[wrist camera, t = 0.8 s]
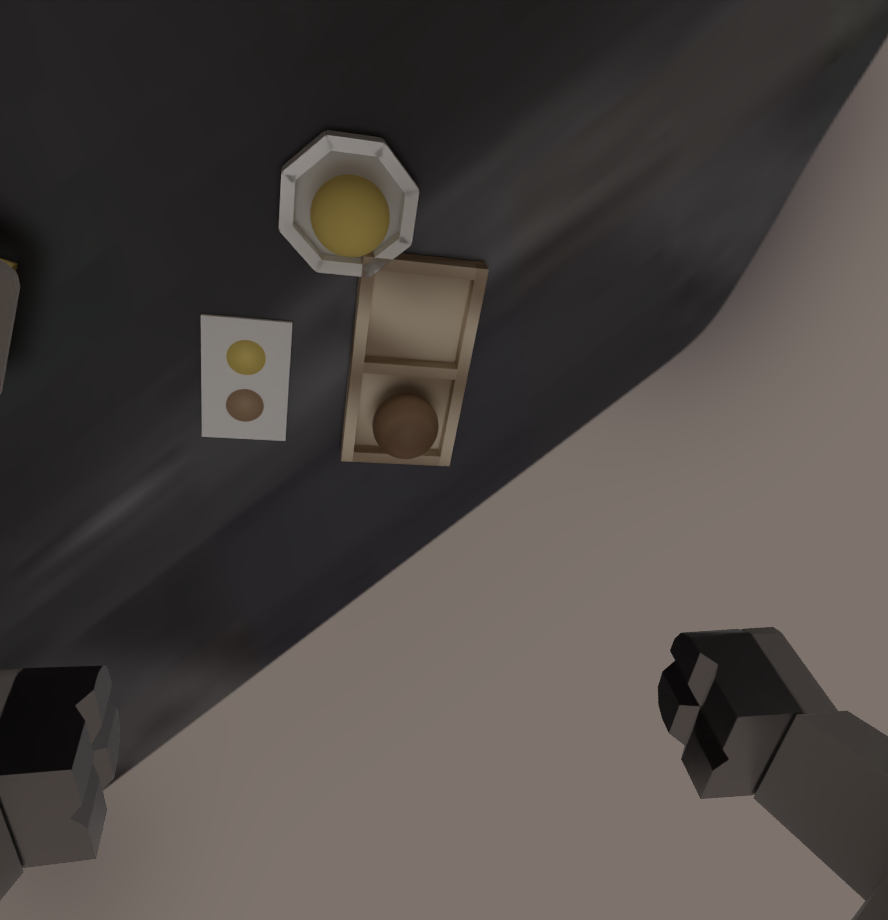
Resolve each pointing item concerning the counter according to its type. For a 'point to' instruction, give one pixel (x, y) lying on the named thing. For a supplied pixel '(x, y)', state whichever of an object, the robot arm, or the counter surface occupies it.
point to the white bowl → (338, 158)
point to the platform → (7, 310)
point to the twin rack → (411, 347)
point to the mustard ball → (350, 215)
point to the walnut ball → (405, 426)
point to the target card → (244, 377)
